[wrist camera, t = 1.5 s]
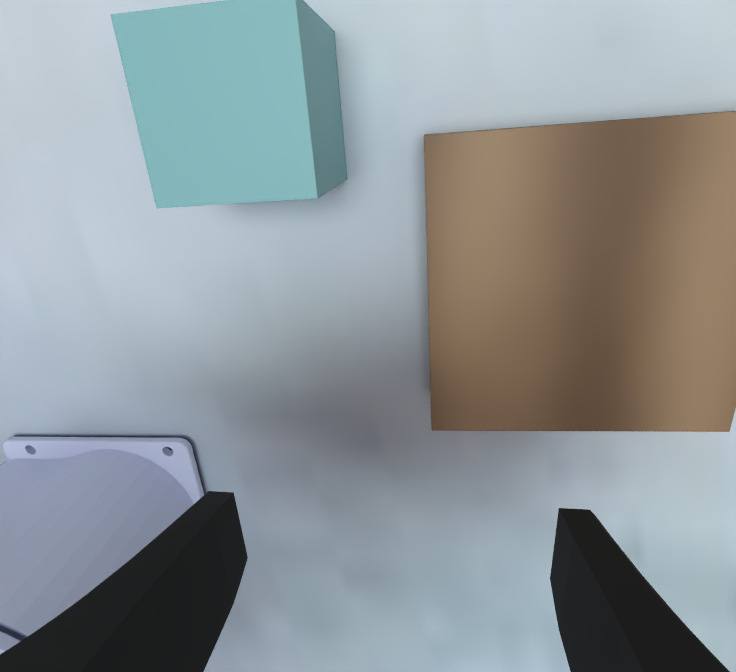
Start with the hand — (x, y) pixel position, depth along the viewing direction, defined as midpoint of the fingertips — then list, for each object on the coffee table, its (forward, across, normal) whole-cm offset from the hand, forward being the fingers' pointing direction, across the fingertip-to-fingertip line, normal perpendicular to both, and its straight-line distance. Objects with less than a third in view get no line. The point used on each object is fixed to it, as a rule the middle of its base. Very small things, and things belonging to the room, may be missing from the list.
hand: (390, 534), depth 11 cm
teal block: (+10, +4, -9) cm, 14 cm away
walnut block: (+10, -6, -3) cm, 12 cm away
